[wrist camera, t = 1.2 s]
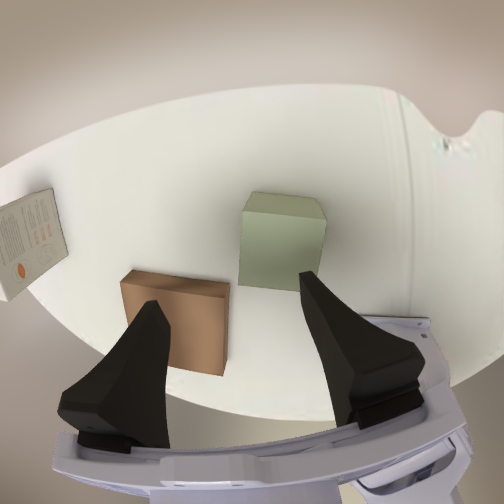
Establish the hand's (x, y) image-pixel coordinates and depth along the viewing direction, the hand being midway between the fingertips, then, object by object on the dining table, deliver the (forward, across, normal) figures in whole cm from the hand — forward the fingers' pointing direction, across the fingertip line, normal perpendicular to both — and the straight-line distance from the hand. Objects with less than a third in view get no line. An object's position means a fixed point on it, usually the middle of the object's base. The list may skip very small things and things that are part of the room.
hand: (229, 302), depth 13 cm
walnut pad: (+10, +7, +10) cm, 16 cm away
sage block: (+10, -4, +2) cm, 11 cm away
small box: (+15, +21, -2) cm, 26 cm away
